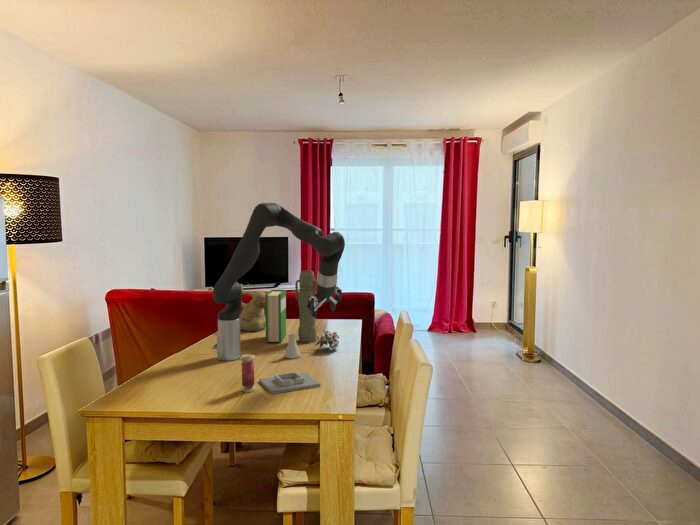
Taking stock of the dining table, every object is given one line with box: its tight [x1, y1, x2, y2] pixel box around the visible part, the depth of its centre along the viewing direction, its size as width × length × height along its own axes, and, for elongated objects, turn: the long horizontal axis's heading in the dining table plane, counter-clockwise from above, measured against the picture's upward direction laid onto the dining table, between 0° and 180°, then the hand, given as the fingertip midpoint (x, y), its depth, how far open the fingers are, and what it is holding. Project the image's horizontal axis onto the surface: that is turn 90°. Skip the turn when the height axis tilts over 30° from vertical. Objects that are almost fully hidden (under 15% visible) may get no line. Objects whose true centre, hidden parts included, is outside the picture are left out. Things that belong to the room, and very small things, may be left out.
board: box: [258, 371, 321, 395], centre depth 178 cm, size 18×15×3 cm
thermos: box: [294, 269, 318, 344], centre depth 244 cm, size 9×12×35 cm
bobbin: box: [239, 354, 257, 394], centre depth 171 cm, size 5×5×12 cm
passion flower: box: [315, 328, 340, 352], centre depth 227 cm, size 11×11×12 cm
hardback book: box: [264, 289, 287, 344], centre depth 248 cm, size 18×7×24 cm, turn 179°
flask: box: [283, 333, 302, 359], centre depth 215 cm, size 7×7×10 cm
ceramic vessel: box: [239, 283, 267, 332], centre depth 273 cm, size 17×20×25 cm
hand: (323, 313), depth 196 cm, fingers open, 8 cm apart
